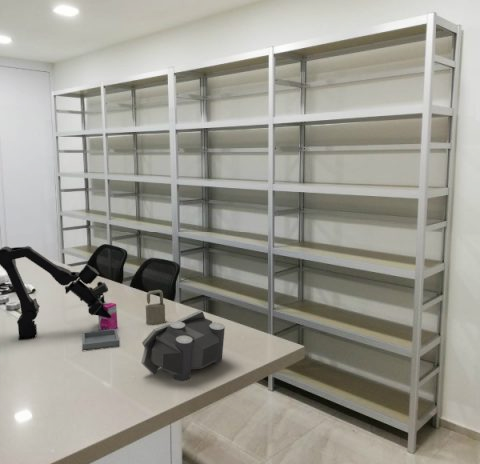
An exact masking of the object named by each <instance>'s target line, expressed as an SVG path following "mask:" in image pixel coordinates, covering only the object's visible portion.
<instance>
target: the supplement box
mask: <svg viewBox="0 0 480 464" xmlns="http://www.w3.org/2000/svg"><path fill="white" fill-rule="evenodd" d="M103 304H104V308H105V309H106V310H107V312H108V313H109V314H110V315H111V318H106V317H102V316H98V315H97V316H98V317H97V318H98V331H102V330H110V329H117V330H118V313H117V311H118V310H117V303H116V302H115V303H113V302H109V301H105V303H103Z"/></svg>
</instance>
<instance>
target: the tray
mask: <svg viewBox="0 0 480 464" xmlns="http://www.w3.org/2000/svg"><path fill="white" fill-rule="evenodd" d="M118 333H119V332H118V328H117V329H110V330H95V331H87V332H86V331H84V332H81V338H82V339H81V344H82V345H81V347H82V351H83V350H86V351H92V350H93V349H94V350H101V348H103V349H108V348H109V347H111V348H117V347H120V337H119V334H118Z"/></svg>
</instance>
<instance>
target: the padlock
mask: <svg viewBox="0 0 480 464" xmlns="http://www.w3.org/2000/svg"><path fill="white" fill-rule="evenodd" d="M154 294H159V303H152V304H150V302H151V295H154ZM146 302H147V305H145V322H146V324H147V325H148V326H149V325H157V324H162V323H166V304H165V303H164V293H163V291H162V290H161V289H155V290H149V291H148V292H147V294H146Z"/></svg>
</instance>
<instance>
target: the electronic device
mask: <svg viewBox="0 0 480 464" xmlns="http://www.w3.org/2000/svg"><path fill="white" fill-rule="evenodd" d="M225 329H226V326H225V324H223V323H220V322H213V321H212V320H210V319H208V318H206V316H205V314H204V312H203V310H202V309H199V310H198V311H196V312H193V313H191V314H189V315H187V316H184V317H182V318H180V319H178V320H175V321H172V322H170V323H167V324H165V325H161V326H157V327H155V328H154V329H152V330H151V332H150V333H149V334H148V335H147V337H146V338H144V339H143V341H142V342H141V344H142V346H143V347H144V350H143V355H142V358H141V364H142V365H143V366H144V368H146V370H148V371H149V372H150V373H151V374H152V373H153V374H152V375H155V374H156V373H157V372H158V370H159V369H162V370H164V371H165V372H168V373H169V374H171V375H173V378H174V380H176V381H178V382H186V381H188V380H189V379H190V378H191V371H192V370H196V369H197V370H198V369H203V368H204V367H207V366H209V365H211V364H213V363H219V362H221V361H222V360H223V353H224V352H223V351H224V340H225ZM185 380H186V381H185Z"/></svg>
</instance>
